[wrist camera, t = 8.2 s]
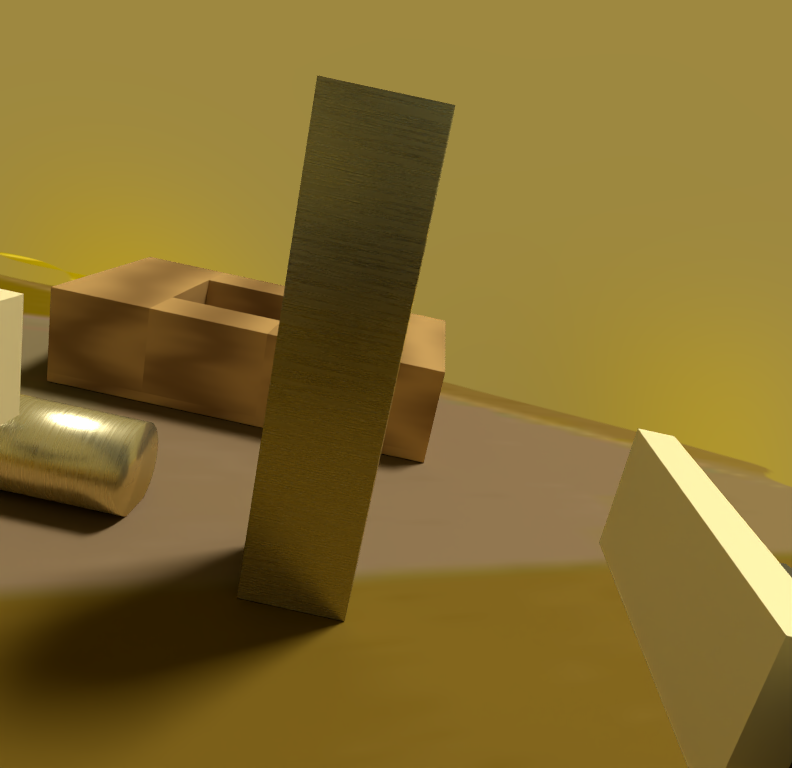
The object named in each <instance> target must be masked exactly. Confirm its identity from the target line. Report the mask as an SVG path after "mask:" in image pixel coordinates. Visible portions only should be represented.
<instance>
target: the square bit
mask: <svg viewBox="0 0 792 768" xmlns="http://www.w3.org/2000/svg"><path fill="white" fill-rule="evenodd" d="M454 109H455V105H452V104H447V103H442V102H438V101H433V100H428V99H424V98H419V97H415V96H410V95H405V94H401V93H396V92H391V91H387V90H382V89H377V88H373V87H368V86H363V85H359V84H354V83H350V82H345V81H340V80H335V79H331V78H326V77H322V76H317V82H316V89H315V94H314V101H313V107H312V114H311V120H310V127H309V133H308V140H307V146H306V153H305V160H304V166H303V172H302V179H301V185H300V192H299V199H298V205H297V211H296V217H295V224H294V230H293V238H292V243H291V250H290V257H289V263H288V270H287V276H286V282H285V289H284V295H283V302H282V308H281V315H280V321H279V328H278V334H277V341H276V347H275V354H274V360H273V367H272V373H271V380H270V386H269V393H268V399H267V406H266V412H265V419H264V425H263V431H262V438H261V444H260V451H259V457H258V464H257V470H256V477H255V483H254V490H253V496H252V503H251V509H250V516H249V522H248V529H247V535H246V542H245V548H244V555H243V561H242V568H241V574H240V581H239V587H238V594H237V598H240V599H245V600H249V601H254V602H258V603H263V604H268V605H272V606H277V607H281V608H286V609H290V610H295V611H300V612H304V613H309V614H313V615H318V616H322V617H327V618H332V619H336V620H341V621H344V620H345V616H346V612H347V607H348V603H349V598H350V594H351V589H352V585H353V580H354V576H355V572H356V567H357V563H358V558H359V553H360V549H361V544H362V539H363V535H364V530H365V525H366V521H367V516H368V511H369V507H370V502H371V498H372V493H373V488H374V484H375V479H376V474H377V470H378V465H379V460H380V456H381V451H382V446H383V442H384V437H385V432H386V428H387V423H388V418H389V414H390V409H391V404H392V400H393V395H394V391H395V386H396V381H397V377H398V372H399V367H400V363H401V358H402V353H403V349H404V344H405V339H406V335H407V330H408V325H409V321H410V316H411V311H412V307H413V302H414V297H415V292H416V288H417V283H418V278H419V274H420V270H421V265H422V260H423V256H424V251H425V246H426V241H427V237H428V232H429V227H430V223H431V218H432V214H433V209H434V204H435V199H436V195H437V190H438V186H439V181H440V176H441V172H442V167H443V162H444V158H445V153H446V149H447V144H448V139H449V134H450V130H451V125H452V121H453V115H454Z"/></svg>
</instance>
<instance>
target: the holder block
mask: <svg viewBox="0 0 792 768" xmlns="http://www.w3.org/2000/svg"><path fill="white" fill-rule="evenodd" d="M284 289H285V286H282V285H277V284H273V283H268V282H264V281H259V280H254V279H250V278H245V277H240V276H236V275H231V274H227V273H222V272H217V271H213V270H208V269H204V268H199V267H194V266H190V265H184V264H180V263H176V262H171V261H167V260H162V259H157V258H152V257H149V258H145V259H142V260H139V261H135V262H132V263H129V264H126V265H122V266H119V267H116V268H112V269H109V270H106V271H103V272H99V273H96V274H93V275H89V276H86V277H83V278H79V279H76V280H73V281H69V282H66V283H63V284H60V285H56V286H53V287H51V304H50V325H49V347H48V368H47V381H50V382H55V383H59V384H64V385H69V386H73V387H78V388H82V389H87V390H92V391H96V392H101V393H105V394H110V395H115V396H119V397H124V398H128V399H133V400H138V401H142V402H147V403H151V404H156V405H161V406H165V407H170V408H174V409H179V410H184V411H188V412H193V413H197V414H202V415H207V416H211V417H216V418H220V419H225V420H230V421H234V422H239V423H243V424H248V425H253V426H257V427H262V428H263V425H264V419H265V412H266V406H267V399H268V393H269V386H270V380H271V373H272V367H273V360H274V354H275V347H276V341H277V334H278V328H279V321H280V315H281V308H282V302H283V295H284ZM444 374H445V321H444V320H439V319H434V318H430V317H425V316H421V315H416V314H412V313H411V316H410V321H409V325H408V330H407V335H406V339H405V344H404V349H403V353H402V358H401V363H400V367H399V372H398V377H397V381H396V386H395V391H394V395H393V400H392V404H391V409H390V414H389V418H388V423H387V428H386V432H385V437H384V442H383V446H382V451H381V454H386V455H391V456H395V457H400V458H404V459H409V460H414V461H418V462H423V463H424V459H425V454H426V450H427V446H428V442H429V438H430V433H431V429H432V425H433V421H434V417H435V412H436V408H437V404H438V400H439V395H440V391H441V387H442V383H443V378H444Z"/></svg>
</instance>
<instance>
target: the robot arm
mask: <svg viewBox="0 0 792 768" xmlns="http://www.w3.org/2000/svg"><path fill="white" fill-rule="evenodd" d="M22 323H23V294H21V293H17V292H12V291H8V290H3V289H0V425H2V424H4V423H5V422H7V421H9V420H11V419H13V418H14V417H16V416H18V415H19V409H20V380H21V351H22ZM599 543H600V546H601V548H602V551H603V553H604V556H605V559H606V561H607V564H608V566H609V569H610V571H611V574H612V576H613V579H614V581H615V584H616V586H617V589H618V591H619V594H620V596H621V599H622V602H623V604H624V607H625V609H626V612H627V614H628V617H629V619H630V622H631V624H632V627H633V629H634V632H635V634H636V637H637V640H638V642H639V645H640V647H641V650H642V652H643V655H644V657H645V660H646V662H647V665H648V667H649V670H650V672H651V675H652V677H653V680H654V683H655V685H656V688H657V690H658V693H659V695H660V698H661V700H662V703H663V705H664V708H665V710H666V713H667V715H668V718H669V720H670V723H671V726H672V728H673V731H674V733H675V736H676V738H677V741H678V743H679V746H680V748H681V751H682V753H683V756H684V758H685V761H686V764H687V766H688V768H792V568H790V567H789V566H788V565H786V564H783V563H779V562H778V561H777V560H776V558H775V557H774V556H773V555H772V554H771V552H770V551H769V550H768V549H767V547H766V546H765V545H764V544H763V543H762V541H761V540H760V539H759V538H758V537H757V535H756V534H755V533H754V532H753V531H752V529H751V528H750V527H749V526H748V525H747V523H746V522H745V521H744V520H743V519H742V517H741V516H740V515H739V514H738V513H737V511H736V510H735V509H734V508H733V507H732V505H731V504H730V503H729V502H728V501H727V499H726V498H725V497H724V496H723V495H722V493H721V492H720V491H719V490H718V489H717V487H716V486H715V485H714V484H713V483H712V481H711V480H710V479H709V478H708V476H707V475H706V474H705V473H704V472H703V470H702V469H701V468H700V467H699V466H698V464H697V463H696V462H695V461H694V460H693V458H692V457H691V456H690V455H689V454H688V452H687V451H686V450H685V449H684V448H683V446H682V445H681V444H680V443H679V442H678V440H677V439H676V438H675V437H674V436H670V435H665V434H660V433H656V432H652V431H646V430H642V429H638V430H637V433H636V436H635V439H634V442H633V445H632V448H631V451H630V454H629V457H628V460H627V462H626V465H625V468H624V471H623V474H622V477H621V480H620V483H619V486H618V489H617V492H616V495H615V498H614V501H613V504H612V507H611V510H610V513H609V516H608V518H607V521H606V524H605V527H604V530H603V533H602V536H601V539H600V542H599Z"/></svg>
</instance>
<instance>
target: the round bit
mask: <svg viewBox="0 0 792 768" xmlns="http://www.w3.org/2000/svg"><path fill="white" fill-rule="evenodd" d="M157 451H158V434H157V429H156V427H155V425H154V424H153V423H151V422H147V421H142V420H138V419H133V418H129V417H124V416H119V415H115V414H110V413H105V412H101V411H96V410H92V409H87V408H82V407H78V406H73V405H69V404H64V403H59V402H55V401H50V400H45V399H41V398H36V397H32V396H27V395H22V394H20V409H19V415H18V416H16V417H14V418H13V419H11V420H9V421H7V422H5V423H4V424H2V425H0V490H5V491H9V492H14V493H19V494H23V495H28V496H32V497H37V498H42V499H46V500H51V501H55V502H60V503H65V504H69V505H74V506H78V507H83V508H87V509H92V510H97V511H101V512H106V513H110V514H115V515H120V516H124V517H125V516H127V515H128V514H129V513H130V512H131V511H132V510H133V508H134V507H135V506H136V505H137V504H138V503H139V502H140V501H141V500H142V499H143V497H144V495H145V493H146V491H147V489H148V486H149V484H150V481H151V478H152V475H153V471H154V468H155V463H156V458H157Z"/></svg>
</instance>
